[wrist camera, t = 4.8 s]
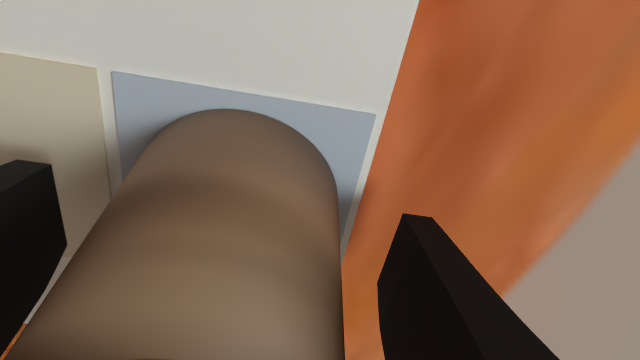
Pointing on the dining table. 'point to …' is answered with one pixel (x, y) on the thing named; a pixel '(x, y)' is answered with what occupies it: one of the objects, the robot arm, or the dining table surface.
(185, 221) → the pawn
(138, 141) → the game board
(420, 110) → the dining table surface
